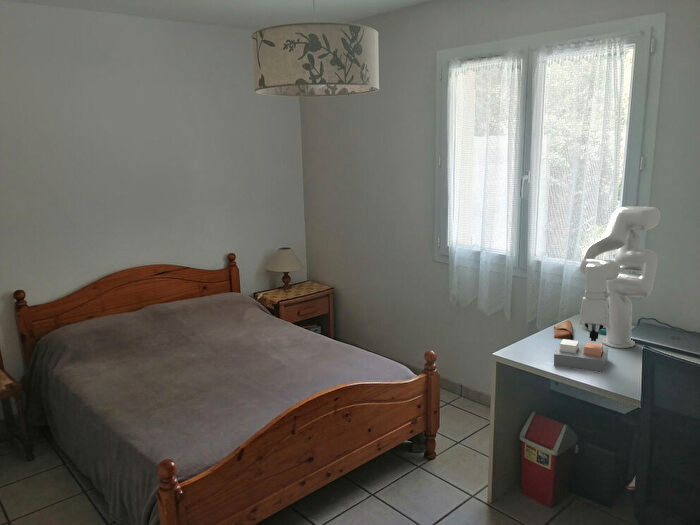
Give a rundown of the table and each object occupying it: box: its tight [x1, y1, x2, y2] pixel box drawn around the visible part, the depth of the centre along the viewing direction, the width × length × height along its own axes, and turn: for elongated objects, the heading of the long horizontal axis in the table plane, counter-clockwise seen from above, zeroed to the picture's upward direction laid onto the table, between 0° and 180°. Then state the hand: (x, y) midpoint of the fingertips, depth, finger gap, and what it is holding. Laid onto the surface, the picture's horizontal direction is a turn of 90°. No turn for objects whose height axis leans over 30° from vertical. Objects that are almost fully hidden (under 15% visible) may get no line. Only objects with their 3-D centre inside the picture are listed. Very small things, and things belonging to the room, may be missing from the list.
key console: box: [553, 343, 609, 374], centre depth 215 cm, size 14×18×5 cm
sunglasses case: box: [553, 320, 574, 340], centre depth 250 cm, size 18×7×7 cm, turn 161°
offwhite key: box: [559, 339, 580, 353], centre depth 217 cm, size 6×6×4 cm
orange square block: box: [584, 341, 604, 357], centre depth 212 cm, size 6×6×4 cm
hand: (593, 340), depth 211 cm, fingers closed
